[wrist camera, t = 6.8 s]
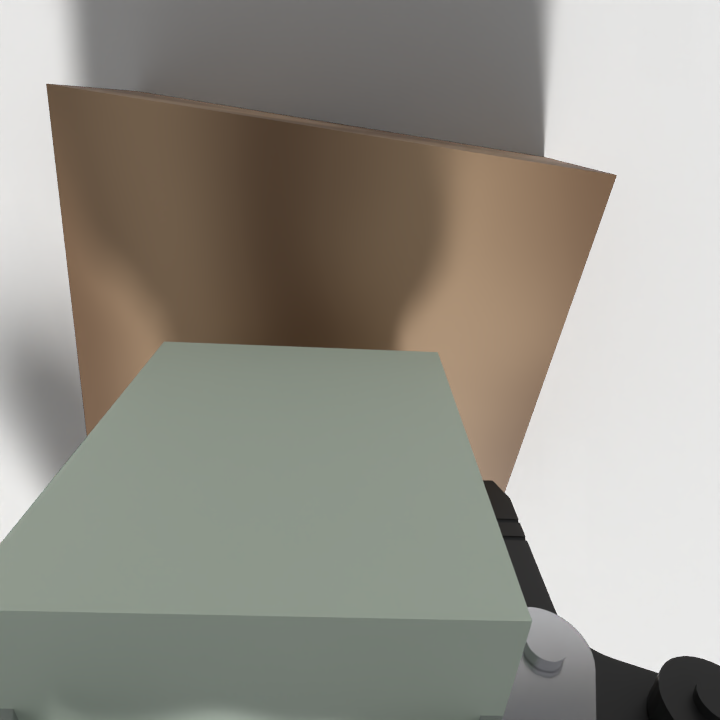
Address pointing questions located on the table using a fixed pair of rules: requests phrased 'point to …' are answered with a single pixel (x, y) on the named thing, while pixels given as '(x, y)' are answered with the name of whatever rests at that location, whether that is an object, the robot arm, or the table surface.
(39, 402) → the table surface
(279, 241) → the walnut block
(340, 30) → the table surface
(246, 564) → the sage cube
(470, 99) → the table surface
